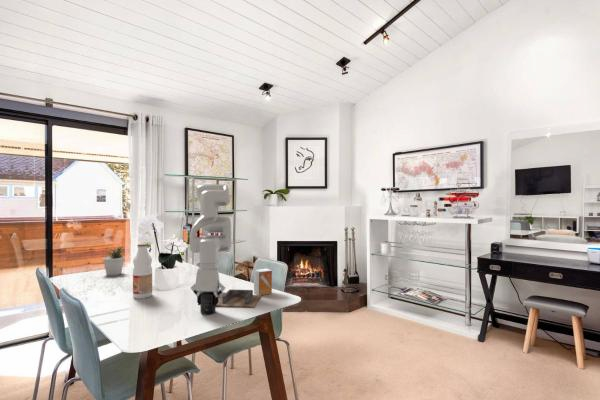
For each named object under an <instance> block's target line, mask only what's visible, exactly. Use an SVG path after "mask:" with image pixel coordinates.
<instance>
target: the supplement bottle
mask: <svg viewBox="0 0 600 400" xmlns="http://www.w3.org/2000/svg"><path fill="white" fill-rule="evenodd" d="M214 297H215V295H214V293H213V292H202V293H201V295H200V305H199V306H200V307H199V308H200V309H199V310H200V314H201V315H205V316H207V315H211V314H212V315H213V314H214V313H216V310H217V309H216V308H217V307H216V306H214Z"/></svg>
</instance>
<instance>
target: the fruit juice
mask: <svg viewBox="0 0 600 400" xmlns="http://www.w3.org/2000/svg"><path fill="white" fill-rule="evenodd" d="M148 246H149V245H148V243H138V244H137V251H136V254H135V256H134V258H133V261H132V264H133V268H132V298H134V299H146V298H150V297H151V296H152V295H153V267H152V262H153V259H152V258H153V257H152V256H151V255H150V254H149V253H150V252H148V251H149V250H148Z"/></svg>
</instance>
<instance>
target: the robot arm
mask: <svg viewBox="0 0 600 400" xmlns="http://www.w3.org/2000/svg"><path fill="white" fill-rule="evenodd" d="M195 191H196V196H197V199H198V202H199V207H200V209H199V218H198V219H197V220H196V221H195V222H194V223H193V224H192V227H191V229H190V233H189V250H190V252H192V253H194V254H196V253H197V254H199V257H198V258H199V262H198V263H196V265H195V266H196V267H198V269H197V270H196V274H195V276H196V277H195V283H194V284H193V285H192V286H190V289H191V291H192V292H193V293H194V295H195V296H196V302H197V305H198V306H200V295H201V293H202V292H213V293H214V295H215V297H214V306H216V305H217V304H218V302H219V299H220V297H219V296H220V295H221V294H222V293H223V292H224V290H225V289H226V287H225V286H224V285H223V284H222V283H221V282H220V274H219V260H218V259H219V258H217V253H228V252H230V251H231V249H232V222H231V221H232V220H231V218H230V217H229V216H228V215H218V207H227V206H228V205H229V204H230V200H231V199H230V198H231V197H230V188H229V186H228V185H227V184H222V183H221V184H219V183H218V184H215V183H214V184H213V183H212V184H211V183H205V184H204V183H203V184H199V185H197V187H196V190H195ZM200 229H202V232H204V233H206V234H209V235H204V236H197V232H198V231H200ZM219 233H220V234H221V235H220V234H219ZM211 234H214V235H211ZM216 234H217V235H216ZM218 234H219V235H218Z"/></svg>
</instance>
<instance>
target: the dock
mask: <svg viewBox="0 0 600 400" xmlns="http://www.w3.org/2000/svg"><path fill="white" fill-rule="evenodd" d="M261 297H262V295H256V294H254V289H228V290H227V291H226V292H225V294H223V295H222V296H221V297H219V302H218V304H217V305H216V308H247V309H248V308H249V309H251V308H252V309H254V308H256V306H257V304H258V303H259V301H260V300H261Z"/></svg>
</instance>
